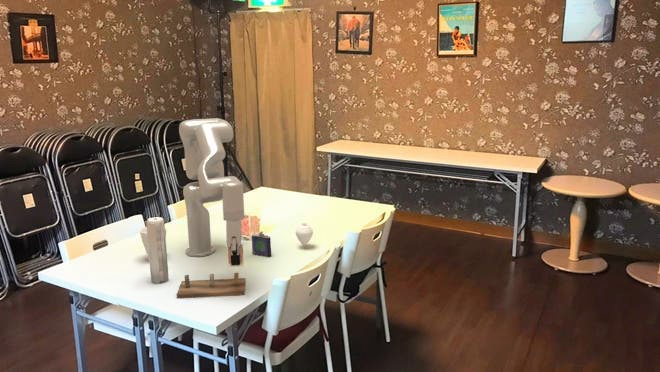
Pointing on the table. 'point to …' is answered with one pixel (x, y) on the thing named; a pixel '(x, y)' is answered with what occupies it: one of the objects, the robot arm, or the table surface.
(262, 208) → the table surface
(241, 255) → the sleeve
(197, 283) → the pin board
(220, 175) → the robot arm
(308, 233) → the spinning top
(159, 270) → the beige tall cylinder
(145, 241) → the cup
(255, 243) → the flask
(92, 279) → the table surface
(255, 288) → the table surface
